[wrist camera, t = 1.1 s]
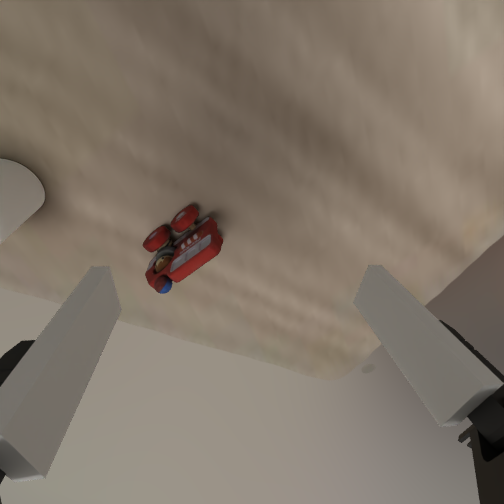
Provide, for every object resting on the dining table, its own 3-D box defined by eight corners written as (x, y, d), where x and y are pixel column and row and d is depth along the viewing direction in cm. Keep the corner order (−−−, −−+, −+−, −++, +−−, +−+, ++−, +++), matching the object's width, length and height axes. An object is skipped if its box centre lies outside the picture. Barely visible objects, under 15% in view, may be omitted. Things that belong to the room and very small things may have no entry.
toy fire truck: (137, 243, 36) (111, 286, 27) (201, 194, 33) (195, 224, 24) (170, 272, 39) (157, 319, 30) (231, 229, 37) (236, 268, 28)
